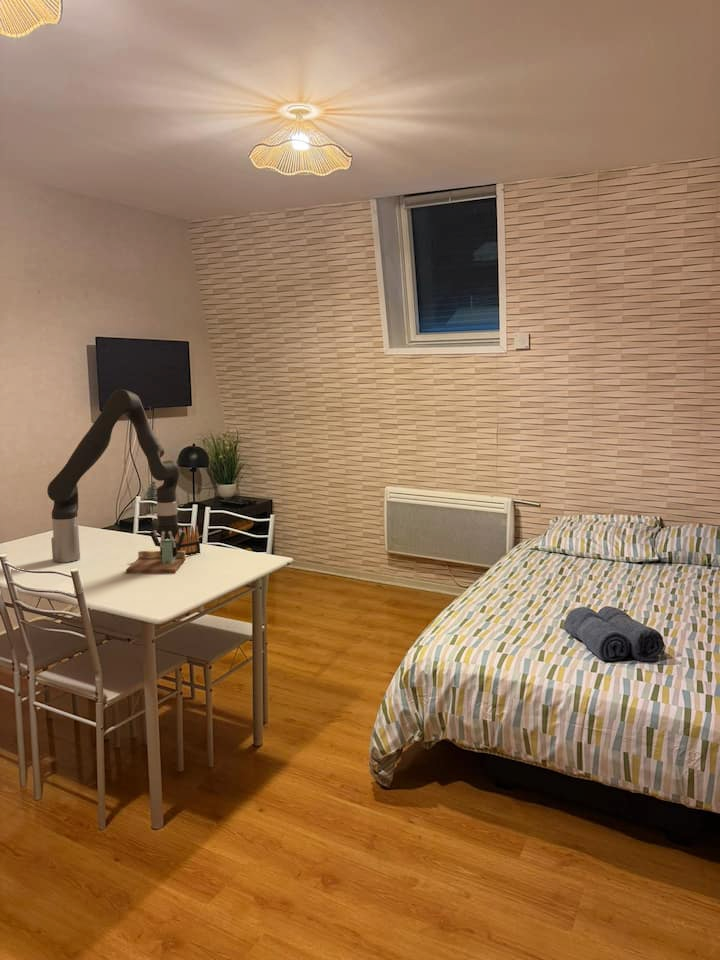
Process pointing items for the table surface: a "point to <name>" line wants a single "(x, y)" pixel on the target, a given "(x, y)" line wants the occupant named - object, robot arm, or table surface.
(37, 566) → the table surface
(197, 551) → the ammunition clip
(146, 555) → the walnut board
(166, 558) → the green rectangular block
